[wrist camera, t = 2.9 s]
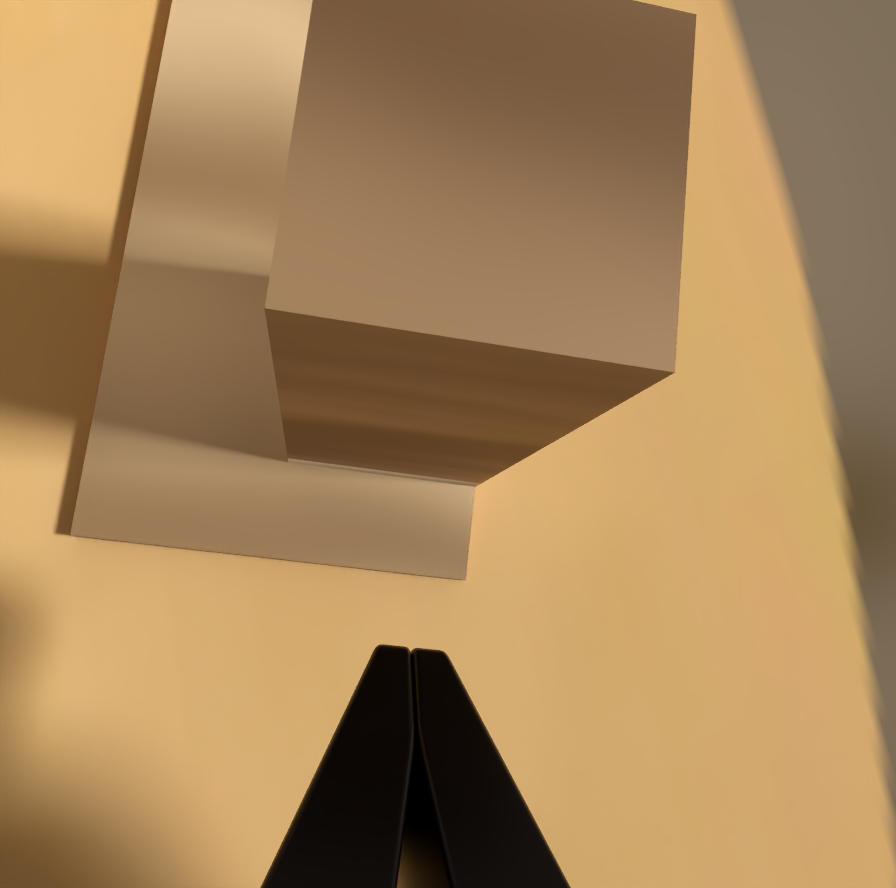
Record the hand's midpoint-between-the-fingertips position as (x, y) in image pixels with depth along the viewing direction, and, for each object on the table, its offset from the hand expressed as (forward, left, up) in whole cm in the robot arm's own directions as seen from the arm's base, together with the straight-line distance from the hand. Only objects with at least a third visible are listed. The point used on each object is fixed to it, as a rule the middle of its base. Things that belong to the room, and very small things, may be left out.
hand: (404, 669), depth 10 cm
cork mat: (+8, +2, -8) cm, 11 cm away
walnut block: (+5, 0, -7) cm, 9 cm away
